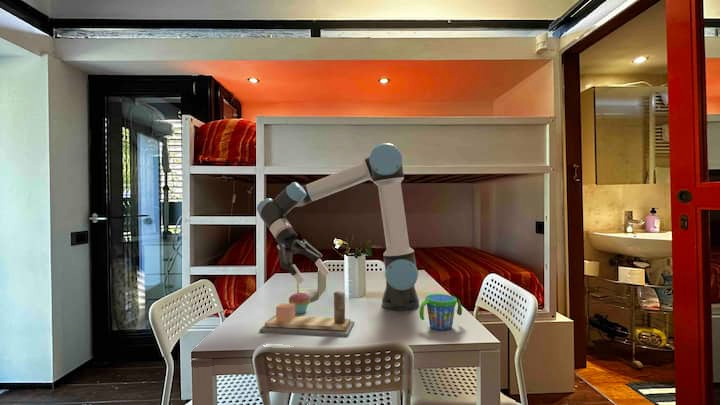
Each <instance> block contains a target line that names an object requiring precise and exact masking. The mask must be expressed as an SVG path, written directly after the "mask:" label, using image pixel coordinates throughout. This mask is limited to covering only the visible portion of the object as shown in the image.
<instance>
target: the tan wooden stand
mask: <svg viewBox="0 0 720 405" xmlns="http://www.w3.org/2000/svg"><path fill="white" fill-rule="evenodd" d="M345 296H346V294H345V292H344V291H335V292H333V316H334V317H318V316H317V317H316V316H315V317H314V316H296V315H295V319H294V320H293V321H292V322H291V323H288V322H276V315H272V316H271V317H270V318H269V319H268V320H267V321H265V322H264V325H265V327H285V328H306V329H327V330H347V328H348V326H349V324H350V321H351V318H346V312H345V311H346V310H345V309H346V307H345V306H346V305H345V304H346V303H345V301H346V300H345V298H346V297H345Z"/></svg>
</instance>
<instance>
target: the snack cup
mask: <svg viewBox="0 0 720 405" xmlns="http://www.w3.org/2000/svg"><path fill="white" fill-rule="evenodd" d="M456 305H457V309H456V314H457V315H458V316H462V313H463V307H462V303H461V301H460V299H458V298H457V297H456V296H454V295H451V294H443V293H432V294H427V295H426V296H425V299H424V300H423V301H422V302H421V304H420V305H419V314H418V315H419V318H420V320H422V321H424V320H425V317H424V316H425V315H424V314H425V312H424V311H425V308H424V307H425V306H426V307H427V309H426V310H427V318H428V322H429V323H428V324H429V326H430V328H432V329H435V330H438V331H445V330H450V329H452V326H453V325H454V316H455V307H456Z"/></svg>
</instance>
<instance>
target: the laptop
mask: <svg viewBox="0 0 720 405" xmlns="http://www.w3.org/2000/svg"><path fill="white" fill-rule="evenodd" d="M324 264H325V266H326V267H327V263H324ZM326 288H327V276H326V277H324V276H323V274H322V273H321V271H320V270H319V269H317V287H301V288H299V293H305V294H307V295H308V296H309V297H310V300H320V298H321V297H322V296H323V294H324V293H325V292H326V291H327V289H326Z"/></svg>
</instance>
